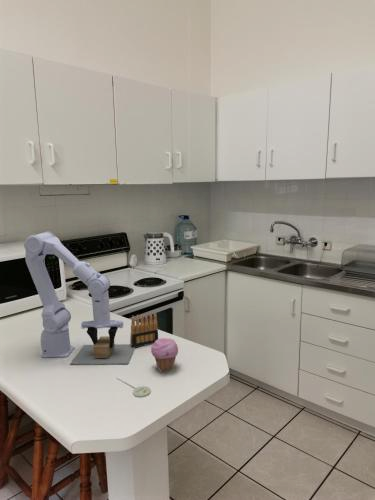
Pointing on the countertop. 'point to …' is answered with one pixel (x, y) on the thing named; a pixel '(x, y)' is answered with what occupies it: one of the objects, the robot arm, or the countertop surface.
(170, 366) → the cupcake
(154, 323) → the ammunition clip
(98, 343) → the card box
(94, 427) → the countertop surface
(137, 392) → the sign
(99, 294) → the robot arm
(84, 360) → the mat
